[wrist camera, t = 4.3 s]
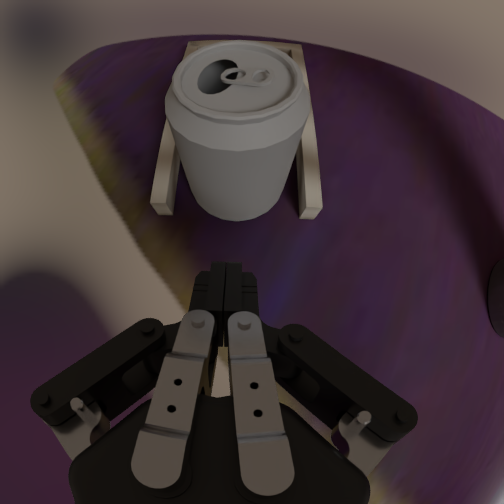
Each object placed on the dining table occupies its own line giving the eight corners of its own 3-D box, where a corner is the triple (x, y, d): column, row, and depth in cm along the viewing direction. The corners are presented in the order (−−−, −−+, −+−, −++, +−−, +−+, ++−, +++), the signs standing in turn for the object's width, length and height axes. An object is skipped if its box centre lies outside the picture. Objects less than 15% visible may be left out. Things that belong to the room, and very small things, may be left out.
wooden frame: (313, 219, 22) (322, 207, 20) (158, 215, 22) (150, 203, 19) (297, 60, 27) (301, 44, 24) (191, 57, 26) (188, 41, 24)
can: (209, 137, 23) (195, 25, 12) (291, 157, 23) (326, 49, 12) (178, 210, 22) (128, 113, 10) (269, 236, 22) (303, 148, 10)
